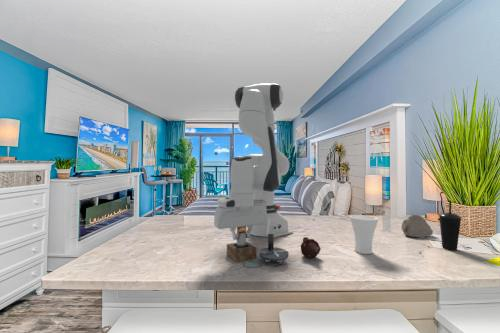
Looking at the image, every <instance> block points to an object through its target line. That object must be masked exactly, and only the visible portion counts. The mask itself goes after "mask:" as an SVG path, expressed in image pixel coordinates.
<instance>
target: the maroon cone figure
mask: <svg viewBox="0 0 500 333" xmlns="http://www.w3.org/2000/svg"><path fill="white" fill-rule="evenodd" d="M321 250H322V249H321V246H320V244H319V242H318V241H317V240H315V239H313V238H309V237H305V236H304V237H303V239H302V242H301V244H300V251H301V253H302V255H303V256H304V257H306V258H308V259H314V258H316V257H317V256H318V255H319V254H320V253H321V252H320V251H321Z"/></svg>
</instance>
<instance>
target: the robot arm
mask: <svg viewBox="0 0 500 333" xmlns="http://www.w3.org/2000/svg"><path fill="white" fill-rule="evenodd" d="M283 99H284V91H283V89H282V87H281V85H280V84H278V83H259V84H258V83H257V84H252V85H247V86H240V87H238V88H237V89H236V90H235V93H234V101H235V105H236V107H237V108H238V109H239V110H238V111H239V112H238V126H239V129H240V131H241V132H242V134H244V135H245V136H247V137H249V138H251V141H252V143H253V144H254V146H257V147H258V148H261V150H262V153H261V154H260V153H258V154H257V153H251V154H247V155H241V156H235V157H233V158H232V160H231V163H230V164H231V166H230V174H229V175H230V176H229V181H230V191H229V194H228V195H227V196H225V197H222V198H219V199H217V200H216V205H217V207H216V208H215V209H214V210H215V212H214V218H213V225H214V227H215V228H216V229H218V230H224V229H225V230H226V229H229V231H230V232H231V234H232V240H233V241H237V239H238V234H237V232H236V231H237V227H244V226H246V228H247V229H246V239H250V238H251V236H256V237H263V238H264V237H266V238H268V234H274V238H277V237H281V236H285V235H290V234H291V235H292V234H293V233H294V231H293V229H292V228H290V227H289V223H288V220H287V219H286V218H285V217H284V216H283V215H281V214H280V213H279V212H278V211H280V210H281V209H282V207H281V205H276V204H275V191H276V190H277V189H279V188H280V187H281V183H282V176H285V175H287V173H288V172H289V169H290V161H289V158H288V157H287V156H286V155H284V153H283V152H281V150H280V149H279V148H278V145H277V142H276V137H275V136H276V135H275V132H276V131H275V115H274V112H275V111H276V110H277V109H278V108H279V107H280V106H281V104H282V102H283Z"/></svg>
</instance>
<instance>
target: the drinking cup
mask: <svg viewBox="0 0 500 333" xmlns="http://www.w3.org/2000/svg"><path fill="white" fill-rule="evenodd" d="M448 202H449V203H448V212H443V213H440V214H438V217H439V225H440V238H441V239H440V240H441V248H442V247H443V248H444V250H446V251H452V252H453V251H458V245H459V236H460V229H461V223H462V222H461V221H462V219H463V217H462V216H460V215H459V214H456V213H453V212H452V200H448ZM443 248H442V249H443Z"/></svg>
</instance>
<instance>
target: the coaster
mask: <svg viewBox="0 0 500 333" xmlns="http://www.w3.org/2000/svg"><path fill="white" fill-rule="evenodd" d="M243 266H244V267H246V268H249V269H255V268H259V267H261V262H260V261H258V260H255V259H250V260H245V261H244V262H243Z"/></svg>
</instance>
